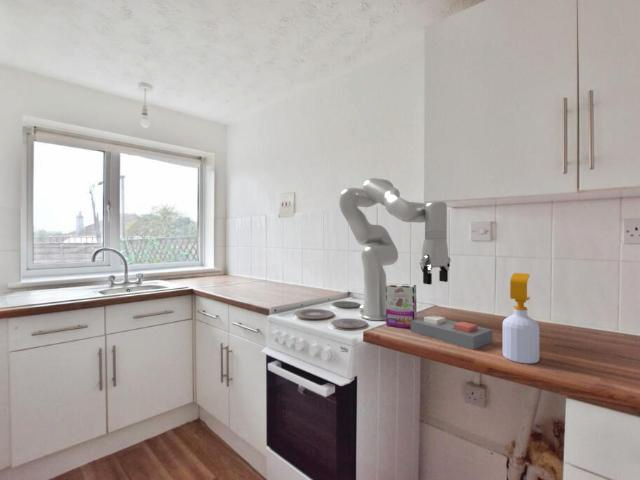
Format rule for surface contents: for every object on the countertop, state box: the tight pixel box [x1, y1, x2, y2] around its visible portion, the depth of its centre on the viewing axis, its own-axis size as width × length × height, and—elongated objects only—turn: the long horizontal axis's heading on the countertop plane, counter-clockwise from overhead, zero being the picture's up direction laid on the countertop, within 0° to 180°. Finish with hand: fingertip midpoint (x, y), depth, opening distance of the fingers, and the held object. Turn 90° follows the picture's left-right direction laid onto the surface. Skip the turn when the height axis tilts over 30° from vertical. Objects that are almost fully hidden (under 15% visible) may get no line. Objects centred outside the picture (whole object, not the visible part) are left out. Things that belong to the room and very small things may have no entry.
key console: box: [410, 317, 493, 350], centre depth 116 cm, size 24×12×4 cm, turn 36°
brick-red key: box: [454, 321, 479, 333], centre depth 111 cm, size 5×5×2 cm
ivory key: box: [423, 314, 446, 325], centre depth 121 cm, size 5×5×2 cm
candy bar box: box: [385, 283, 418, 330], centre depth 129 cm, size 11×5×16 cm, turn 62°
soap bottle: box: [502, 272, 540, 365], centre depth 95 cm, size 9×9×25 cm
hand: (435, 282), depth 120 cm, fingers open, 9 cm apart
